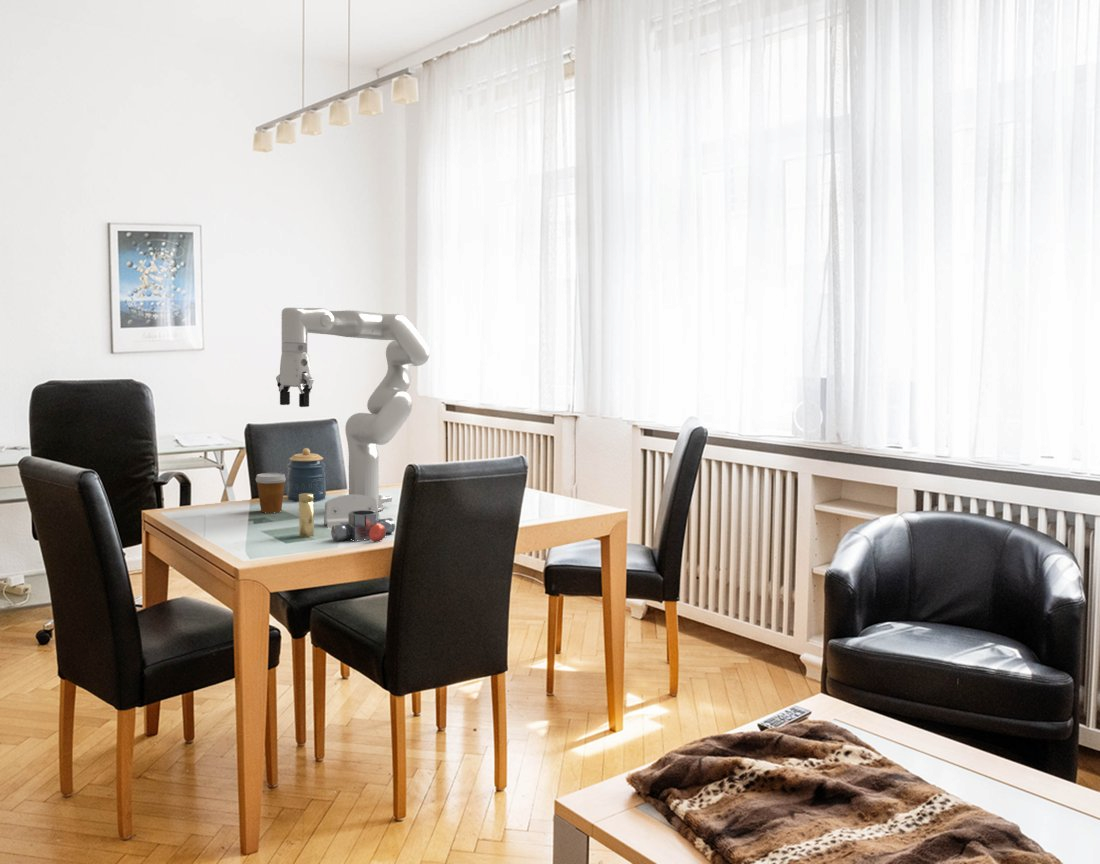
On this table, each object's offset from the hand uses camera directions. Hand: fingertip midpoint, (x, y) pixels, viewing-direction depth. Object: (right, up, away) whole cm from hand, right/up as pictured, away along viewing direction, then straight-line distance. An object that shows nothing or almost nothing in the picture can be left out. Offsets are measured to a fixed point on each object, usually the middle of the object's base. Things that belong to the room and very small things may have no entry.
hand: (294, 405), depth 298 cm
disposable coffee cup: (-12, -34, +18) cm, 40 cm away
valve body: (+26, -38, -19) cm, 50 cm away
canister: (-7, -31, +42) cm, 53 cm away
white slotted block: (+17, -36, +1) cm, 40 cm away
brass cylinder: (+8, -38, -18) cm, 42 cm away
